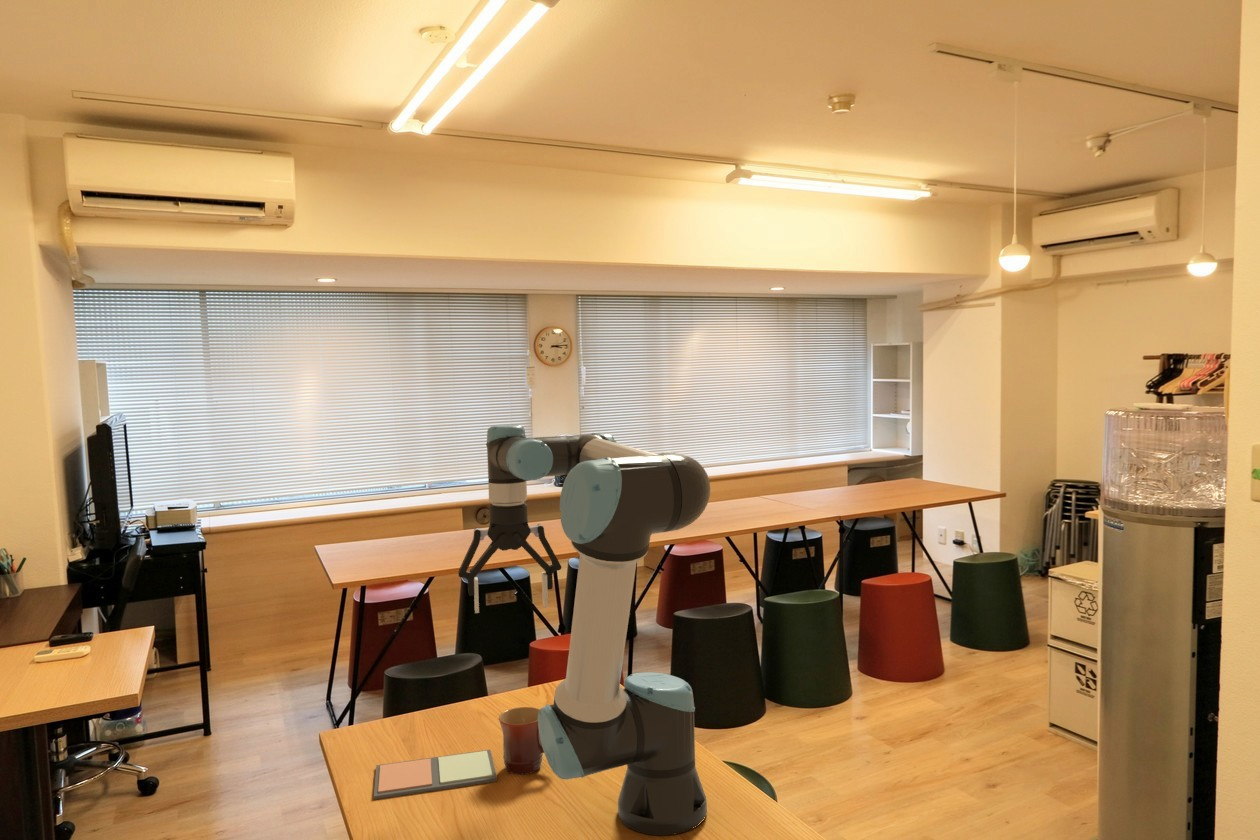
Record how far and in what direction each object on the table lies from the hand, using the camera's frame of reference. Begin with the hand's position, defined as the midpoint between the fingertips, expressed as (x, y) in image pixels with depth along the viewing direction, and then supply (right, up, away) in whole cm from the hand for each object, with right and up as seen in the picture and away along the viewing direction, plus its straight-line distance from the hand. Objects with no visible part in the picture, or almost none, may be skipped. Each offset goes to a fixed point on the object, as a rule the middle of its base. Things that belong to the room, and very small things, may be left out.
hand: (511, 608), depth 168 cm
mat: (-13, -30, -8) cm, 34 cm away
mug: (+5, -30, -6) cm, 31 cm away
